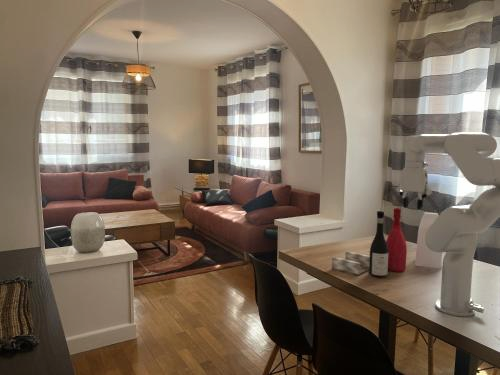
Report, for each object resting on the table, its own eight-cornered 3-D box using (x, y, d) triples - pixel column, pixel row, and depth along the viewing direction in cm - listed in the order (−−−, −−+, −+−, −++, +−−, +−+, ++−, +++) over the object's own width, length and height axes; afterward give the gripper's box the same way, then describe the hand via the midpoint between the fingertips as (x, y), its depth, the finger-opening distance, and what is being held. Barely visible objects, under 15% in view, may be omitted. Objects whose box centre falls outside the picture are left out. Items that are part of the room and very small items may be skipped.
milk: (441, 262, 192) (444, 212, 189) (441, 268, 182) (444, 216, 179) (416, 258, 197) (418, 210, 194) (414, 265, 187) (417, 214, 184)
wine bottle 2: (407, 273, 176) (410, 210, 172) (385, 271, 178) (388, 209, 174) (403, 266, 185) (406, 206, 182) (382, 265, 187) (385, 206, 184)
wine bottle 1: (389, 278, 169) (392, 213, 165) (372, 278, 169) (374, 213, 165) (383, 272, 177) (386, 209, 173) (366, 272, 177) (369, 209, 173)
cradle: (372, 268, 182) (373, 256, 181) (358, 276, 171) (358, 263, 171) (346, 262, 191) (347, 251, 191) (331, 269, 181) (332, 257, 180)
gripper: (439, 165, 154) (436, 209, 156) (398, 164, 166) (396, 204, 168) (433, 166, 149) (430, 211, 151) (391, 164, 160) (389, 206, 162)
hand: (412, 207), depth 159 cm, fingers open, 4 cm apart
